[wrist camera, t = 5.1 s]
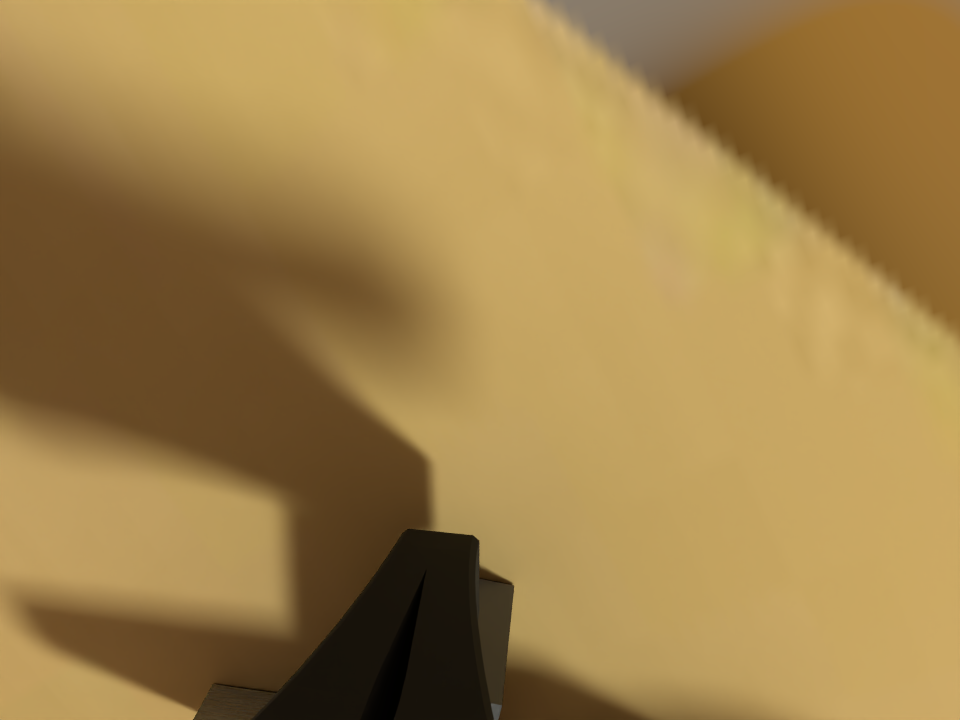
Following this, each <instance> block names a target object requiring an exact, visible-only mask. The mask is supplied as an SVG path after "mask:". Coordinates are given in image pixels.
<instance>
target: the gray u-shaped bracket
mask: <svg viewBox="0 0 960 720" xmlns="http://www.w3.org/2000/svg"><path fill="white" fill-rule="evenodd" d="M275 694H276V693H272V692H265V691H258V690H251V689H244V688H237V687H230V686H222V685H215V684H213V685H212V687H211V688H210V690H209V692H208V694H207V696H206V698H205V699H204V701H203V703H202V705H201V707H200V708H199V710H198V712H197V714H196V716H195V717H194V719H193V720H251V719H252V718H253V717H254V716H255V715H256V714H257V713H258V712H259V711H260V710H261V709H262V708H263V707H264V706H265V705H266V704H267V703H268V702H269V701H270V700H271V699H272V698H273V697H274V695H275Z"/></svg>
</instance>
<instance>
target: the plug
mask: <svg viewBox="0 0 960 720" xmlns="http://www.w3.org/2000/svg"><path fill="white" fill-rule="evenodd" d="M513 592H514V585H509V584H504V583H499V582H494V581H489V580H484V579H479V616H478V626H479V634H480V642H481V650H482V657H483V663H484V670H485V676H486V681H487V686H488V692H489V697H490V702H491V707H492V712H493V717H494V720H498V719H499V715H500V711H501V707H502V700H503V690H504V681H505V671H506V661H507V651H508V641H509V632H510V622H511V612H512V602H513Z"/></svg>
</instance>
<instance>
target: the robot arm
mask: <svg viewBox="0 0 960 720" xmlns="http://www.w3.org/2000/svg"><path fill="white" fill-rule="evenodd" d="M478 616H479V540H478V539H477V538H476V537H474V536H473V535H464V534H454V533H444V532H435V531H425V530H415V529H407V530H406V531H405V532H403V533H402V535H401V536H400V538H399V540H398V541H397V543H396V544H395V546H394V547H393V549H392V550H391V552H390V553H389V555H388V556H387V558H386V559H385V561H384V562H383V564H382V565H381V567H380V568H379V569H378V571H377V572H376V574H375V575H374V576H373V578H372V579H371V581H370V582H369V583H368V585H367V586H366V587H365V589H364V590H363V592H362V593H361V594H360V595H359V597H358V598H357V599H356V601H355V602H354V603H353V604H352V606H351V607H350V608H349V610H348V611H347V612H346V613H345V615H344V616H343V617H342V619H341V620H340V621H339V622H338V624H337V625H336V626H335V627H334V629H333V630H332V631H331V632H330V633H329V635H328V636H327V637H326V638H325V639H324V640H323V642H322V643H321V644H320V645H319V646H318V647H317V649H316V650H315V651H314V652H313V653H312V654H311V656H310V657H309V658H308V659H307V660H306V661H305V663H304V664H303V665H302V666H301V667H300V668H299V670H298V671H297V672H296V673H295V674H294V675H293V676H292V677H291V678H290V679H289V680H288V682H287V683H286V684H285V685H284V686H283V687H282V688H281V689H280V690H279V691H278V692H277V693H276V694H275V695H274V697H273V698H272V699H271V700H270V701H269V702H268V703H267V704H266V705H265V706H264V707H263V708H262V709H261V710H260V711H259V712H258V713H257V714H256V715H255V716H254V717H253V718H252V719H251V720H494V717H493V712H492V707H491V702H490V697H489V692H488V686H487V681H486V676H485V670H484V663H483V657H482V650H481V642H480V634H479V626H478Z"/></svg>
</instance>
